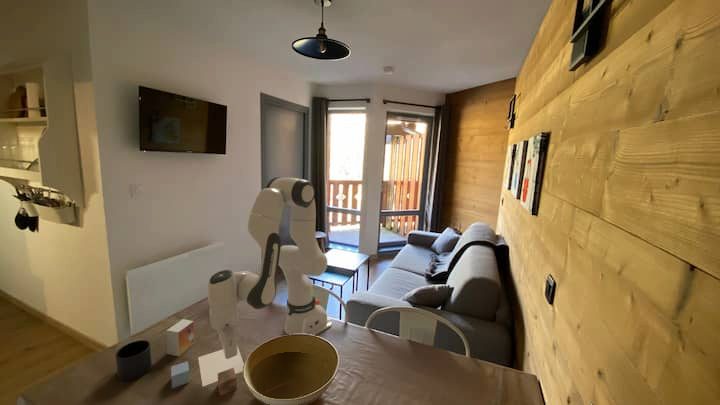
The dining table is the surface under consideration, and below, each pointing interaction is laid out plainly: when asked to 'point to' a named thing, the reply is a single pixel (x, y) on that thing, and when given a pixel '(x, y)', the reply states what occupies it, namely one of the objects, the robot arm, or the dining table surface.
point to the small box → (180, 337)
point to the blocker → (227, 381)
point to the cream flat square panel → (218, 365)
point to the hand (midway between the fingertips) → (227, 351)
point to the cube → (180, 374)
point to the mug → (133, 360)
